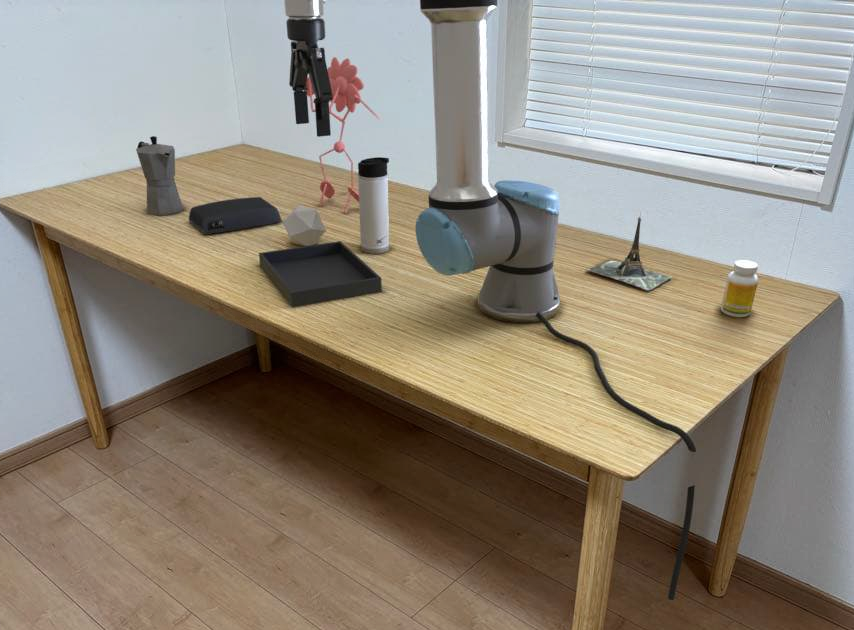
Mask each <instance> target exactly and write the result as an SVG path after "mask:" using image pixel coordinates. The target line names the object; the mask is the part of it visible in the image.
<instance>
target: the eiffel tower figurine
mask: <svg viewBox="0 0 854 630" xmlns="http://www.w3.org/2000/svg"><path fill="white" fill-rule="evenodd" d="M641 214H642V212H641V211H640V213H639V215H641ZM641 221H642V217H641V216H639V217H638V218H637V225H636V229H635V234H634V237H633V242H632V246H631V247H630V251H629V253H628V255H627V256H625V258H624V260H623V261H622V262H620V261H616V260H612V259H611V260H608V261H607V262H605V263H602V264H599V265H596V266H594V267H591V268H589V269H587V271H589V272H592V273H595V274H598V275H600V276H603V277H607V278H611V279H614V280H617V281H619V282H623V283H626V284H629V285H632V286H635V287H638V288H640V289H643V290H645V291H648V292H649V291H651V290H653V289H655V288H656V287H658V286H661V285H662V284H663V283H665V282H667V281H669V280H670V279H671V278H672V279H673V277H674V275H669V274H664V273H659V272H656V271H652V270H651V269H646V268H644V267H643V265H642V264H643V261H642V260H641V256H640V232H641Z"/></svg>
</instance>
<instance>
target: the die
mask: <svg viewBox="0 0 854 630" xmlns="http://www.w3.org/2000/svg"><path fill="white" fill-rule="evenodd" d="M281 223H282V224H283V226H284V228H285V231H286V233H287V235H288V237H289V239H290V241H291V243H292V244H294V245H298V246H301V247H304V246H310V245H315V243H316V242H318V240H319V239H321V237H322V236H323V235H324V234H325V233H326V232H327V229H326V227H325V224H324V222H323V219H322V217H321V216H320V213H319V211H318V209H317V208H313V207H308V206H304V205H299V204H298V205H297V206H296V207H295V208H294V209H293V210H292V211H291V212H290V213H289V214H288V215H287V216H286V217H285V218H284V219H283V220H282V221H281Z"/></svg>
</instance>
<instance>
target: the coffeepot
mask: <svg viewBox="0 0 854 630" xmlns="http://www.w3.org/2000/svg"><path fill="white" fill-rule="evenodd" d="M149 140H150V142H151V143H150V142H149V143H148V142H144V141H142V140H141V141H139V142H138V144H137V147H136V148H135V150H136V154H137V157H138V161H139V163H140V167H141V169H142V172H143V173H142V174H143V176H144V178H145V180H146V210H147V213H148V214H150V215H153V216H169V215H175V214H178V213H181V212H183V210H184V206H183V202H182V199H181V196H180V194H179V189H178V187H177V184H176V180H175V176H176V153H175V152H176V149H175V147H174V146H173V145H168V144H161V143H158V137H157V136H155V135H153V136H149Z"/></svg>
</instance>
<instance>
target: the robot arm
mask: <svg viewBox="0 0 854 630" xmlns="http://www.w3.org/2000/svg"><path fill="white" fill-rule="evenodd" d="M283 1H284V14H285V16H286V17H287V20H286V21H285V25H286V35H287V39H288V40H289V41H291V42H290V64H289V65H290V66H289V67H290V68H289V84H288V85H289V87H291V90H292V91H293V100H294V101H293V102H294V114H295V125H304V124H310V117H309V106H308V105H309V103H308V95H307V91H304V90H308V88H307V85H306V81H307V78H308V77H310V80H311V84H312V87H313V90H314V94H313V95H314V97H315V98H314V99H313V104H314V110H315V112H314V113H315V127H316V136H317V137H318V138H319V137H329V136H331V135H332V134H331V133H332V132H331V114H329V107H330V103H331V102H330V100H333V95H332V90H331V85H330V80H329V75H328V66H327V61H326V50H325V47H319V45H318V42H319V41H323V40H325V38H326V23H325V20H324V19H323V18H322V17H323V16H324V15H325V9H324V4H325V3H326V0H283ZM419 7H420V13H421V14H422V15H423V16H425V18H426V19H427V20H428V22H429V23H430V31H431V34H430V35H431V57H432V58H431V59H432V61H431V62H432V82H433V84H432V86H433V111H434V114H433V115H434V135H435V139H434V140H435V164H436V166H435V167H436V183H435V185H434V186H433V187H432V188H431V189H430V190H429V191H428V196H427V197H428V207H426V208H424V210H422V211H420V213H419V214H418V218H416V220H415V237H416V242H417V245H418V248H419V250H420V252H421V255H422V257H423V258H424V259H425V260H426V262H427V264H428V265H429V266H430V267H431V268H432V269H433V270H434V271H435V272H437V273H439V274H441V275H443V276H447V277H448V276H451V277H452V276H456V275H464V274H469V273H471V272H473V271H478V270H481V269H485V268H488V270H487V273H486V275H485V278H484V281H483V282H482V286H481V289H480V290H479V293H478V303H477V304H478V308H479V310H480V311H481V312H482V313H483V314H485V315H486V316H489V317H491V318H493V319H495V320H499V321H503V322H509V323H518V324H519V323H522V324H524V323H525V324H526V323H537V322H541V323H542V324H543V325H544V327H545V328H546V329H547V331H548V332H549V333H550V334H551V335H553V336H554V337H555V338H557V339H559V340H561V341H563V342H566V343H568V344H571V345H574V346H576V347H579V348H581V349H583V350H584V351H586V352H587V353H588V354H589V356H590V357H591V359H592V362H593V367H594V370H595V373H596V374H597V377H598V378H599V381H600V383H601V385H602V387H603V388H604V390H605V392H606V393H607V394H608V395H609V396H610V398H611V399H613V400H614V401H615V402H616V403H617V404H619V405H620V406H622V407H623V408H624V409H626V410H627V411H629V412H632V413H633V414H634V415H637V416H639V417H641V418H642V419H644V420H646V421H648V422H649V423H651V424H653V425H655V426H656V427H658V428H661V429H663V430H666V431H669V432H672V433H673V434H675V435H677V436H679V437H680V438H681V439H682V440H683V441H684V443H685V445H686V447H687V449H688V451H690V452H692V453H696V452H697V448H696V445H695V443H694V441H693V440H692V438H691V437H690V435H689V434H688V433H687V432H685V430H683V429H682V428H680V427H679V426H677V425H674V424H672V423H669V422H666V421H663V420H661V419H659V418H657V417H656V416H654V415H652V414H650V413H648V412H646V411H644V410H643V409H641V408H639V407H637V406H635V405H633V404H632V403H630V402H629V401H626V400H625V399H624V398H622V397H621V396H620V395H619V394H618V393H617V392H615V390H614V389H613V387H612V386H611V384H610V383H609V380H608V379H607V377H606V375H605V373H604V371H603V369H602V367H601V363H600V359H599V356H598V354H597V352H596V351H595V350H594V349H593V348H592V347H591V346H590V345H589V344H587V343H586V342H584V341H581V340H579V339H575V338H573V337H570V336H567V335H565V334H563V333H561V332H559V331H558V330H556V329H555V328H554V327H553V325H552V324H551V323H550V322H549V319H551V318H552V317H555V316H556V315H557V314H558V312H559V311H560V304H561V303H560V301H561V297H560V295H559V294H560V293H559V289H558V286H557V281H556V277H555V273H554V260H555V251H556V243H557V234H558V233H557V232H558V223H559V216H560V212H559V204H560V199H559V194H558V193H557V191H556V190H555V189H553V188H551V187H550V186H547V185H544V184H541V183H536V182H530V181H523V180H514V179H513V180H512V179H511V180H510V179H509V180H508V179H507V180H499V181H497V182H495V184H493V183H491V181H490V161H489V155H490V154H489V151H490V149H489V58H488V57H489V45H488V44H489V43H488V38H489V37H488V21H489V19H490V18H491V16H492V15H493V14H494V13H495V12H496V10H497V9H498V0H419ZM695 487H696V485H695V484H693V485H691V486H688V487H687V491H686V492H687V494H686V503H685V504H686V506H685V513H684V514H685V515H684V519H683V525H682V530H681V535H680V541H679V545H678V549H677V554H676V557H675V562H674V566H673V571H672V575H671V579H670V584H669V590H668V595H667V599H668V600H670V601H674V600H675V598H676V597H675V595H676V592H677V591H676V590H677V587H678V582H679V577H680V572H681V569H682V565H683V560H684V556H685V552H686V548H687V544H688V538H689V533H690V528H691V522H692V516H693V509H694V499H695Z"/></svg>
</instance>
